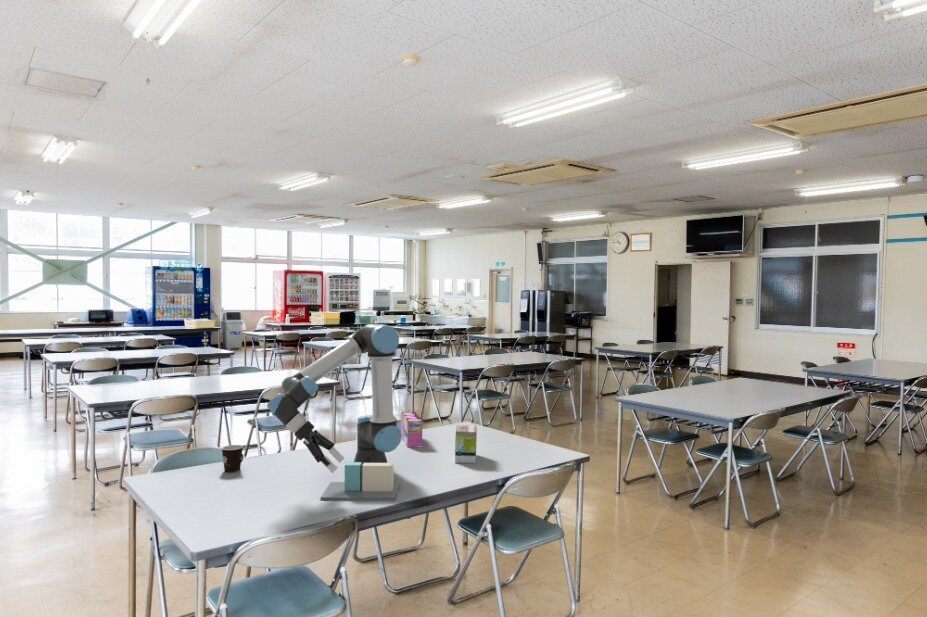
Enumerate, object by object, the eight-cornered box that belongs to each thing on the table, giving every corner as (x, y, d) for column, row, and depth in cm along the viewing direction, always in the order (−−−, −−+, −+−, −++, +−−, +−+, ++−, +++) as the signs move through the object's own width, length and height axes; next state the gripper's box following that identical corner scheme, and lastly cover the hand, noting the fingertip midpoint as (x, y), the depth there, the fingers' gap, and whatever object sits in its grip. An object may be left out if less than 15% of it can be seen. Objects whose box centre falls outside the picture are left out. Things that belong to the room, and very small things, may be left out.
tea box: (476, 463, 272) (476, 431, 272) (454, 463, 273) (454, 431, 272) (476, 454, 287) (476, 424, 287) (455, 454, 288) (456, 424, 287)
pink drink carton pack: (400, 436, 323) (400, 411, 322) (414, 435, 324) (414, 411, 324) (407, 447, 299) (407, 421, 299) (422, 446, 301) (422, 420, 301)
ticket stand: (320, 499, 223) (320, 470, 223) (330, 484, 241) (330, 457, 241) (394, 500, 223) (395, 471, 223) (399, 484, 241) (399, 458, 241)
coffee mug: (220, 468, 261) (220, 446, 260) (241, 466, 265) (241, 444, 264) (223, 476, 250) (223, 452, 250) (244, 473, 254) (244, 450, 254)
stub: (344, 490, 230) (344, 465, 230) (346, 487, 234) (346, 462, 234) (359, 490, 230) (360, 465, 230) (361, 487, 234) (361, 462, 234)
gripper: (298, 427, 219) (339, 468, 219) (315, 413, 244) (351, 450, 244) (284, 441, 219) (324, 482, 219) (302, 426, 244) (338, 462, 244)
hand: (339, 465), depth 232 cm, fingers open, 13 cm apart
